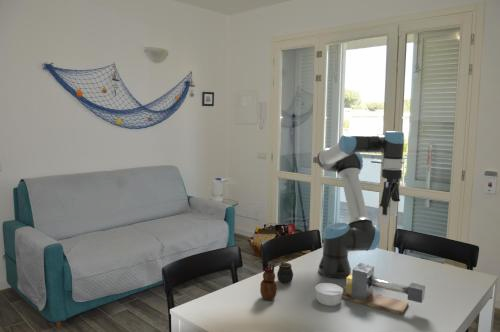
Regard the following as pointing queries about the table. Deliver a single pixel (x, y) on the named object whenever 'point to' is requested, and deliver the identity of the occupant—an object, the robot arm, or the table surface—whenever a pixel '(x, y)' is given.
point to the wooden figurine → (268, 284)
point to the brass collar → (349, 284)
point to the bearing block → (362, 282)
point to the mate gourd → (285, 273)
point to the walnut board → (382, 303)
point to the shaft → (401, 289)
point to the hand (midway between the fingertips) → (389, 219)
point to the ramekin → (328, 294)
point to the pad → (345, 293)
